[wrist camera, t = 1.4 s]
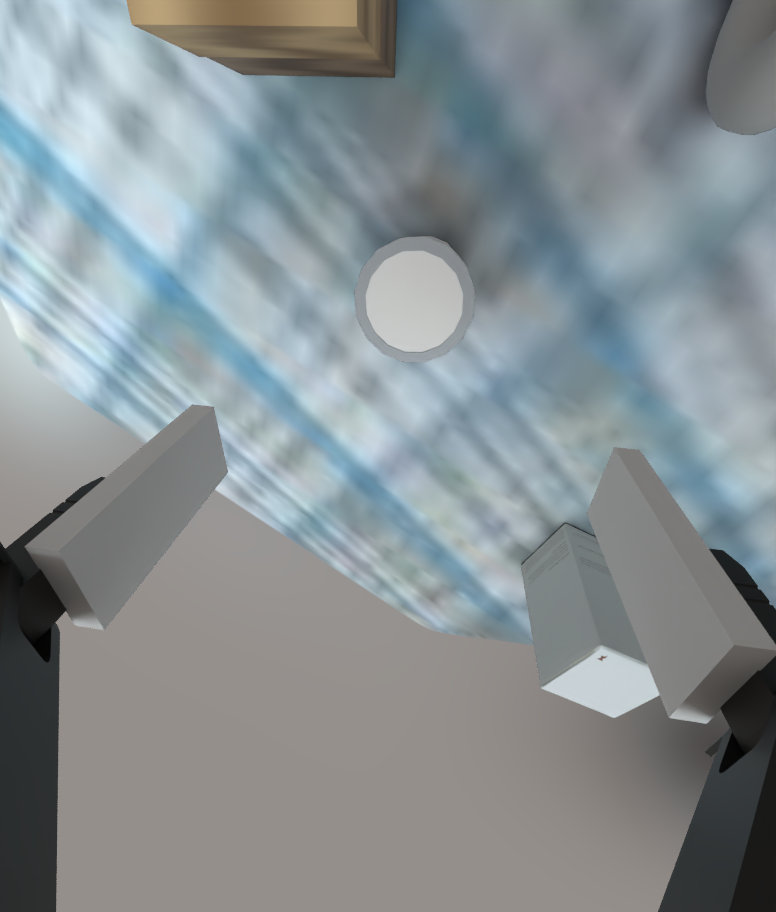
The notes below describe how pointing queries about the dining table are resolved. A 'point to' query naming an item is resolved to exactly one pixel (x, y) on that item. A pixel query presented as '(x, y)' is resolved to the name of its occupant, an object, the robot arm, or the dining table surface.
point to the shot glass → (415, 299)
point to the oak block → (265, 27)
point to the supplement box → (583, 627)
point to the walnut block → (328, 66)
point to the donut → (744, 69)
